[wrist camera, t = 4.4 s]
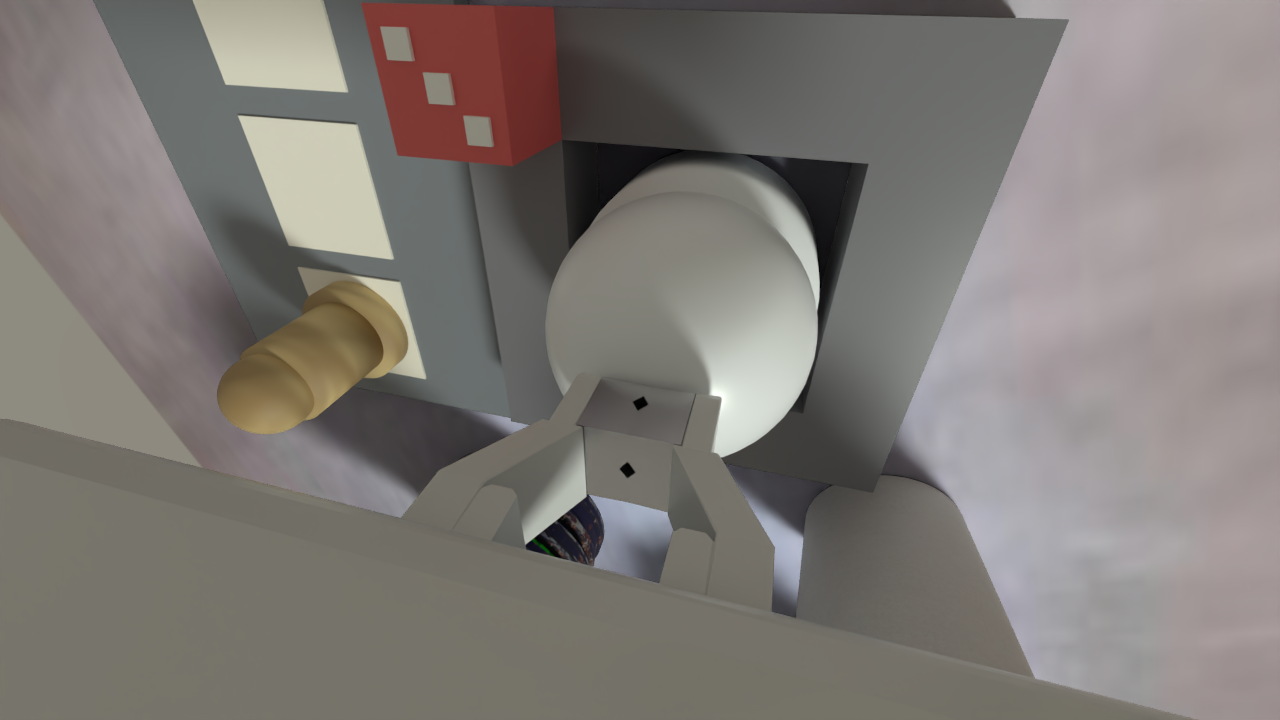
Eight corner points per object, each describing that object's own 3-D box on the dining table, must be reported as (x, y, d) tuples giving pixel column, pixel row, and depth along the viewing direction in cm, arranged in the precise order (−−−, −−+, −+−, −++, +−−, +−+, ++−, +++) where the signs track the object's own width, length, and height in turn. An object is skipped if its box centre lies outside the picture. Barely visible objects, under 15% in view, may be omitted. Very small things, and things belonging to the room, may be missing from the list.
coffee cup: (984, 603, 24) (1169, 1193, 12) (775, 578, 27) (755, 1033, 15) (1030, 452, 19) (1421, 1200, 7) (767, 442, 22) (728, 959, 10)
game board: (525, 408, 25) (517, 420, 24) (284, 362, 27) (270, 372, 27) (379, -630, 10) (345, -681, 9) (-115, -504, 13) (-171, -535, 12)
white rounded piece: (793, 365, 19) (790, 555, 12) (605, 336, 20) (511, 491, 14) (841, 159, 14) (875, 277, 8) (600, 140, 16) (463, 229, 9)
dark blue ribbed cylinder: (421, 496, 31) (187, 797, 19) (491, 417, 26) (222, 772, 14) (550, 584, 33) (409, 908, 21) (641, 528, 27) (520, 926, 16)
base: (864, 436, 21) (884, 569, 16) (540, 379, 23) (472, 476, 18) (1018, 18, 13) (1155, 22, 8) (498, 5, 15) (357, 2, 10)
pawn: (418, 373, 24) (308, 475, 18) (337, 358, 25) (211, 452, 19) (394, 287, 21) (260, 378, 16) (306, 274, 22) (150, 356, 17)
